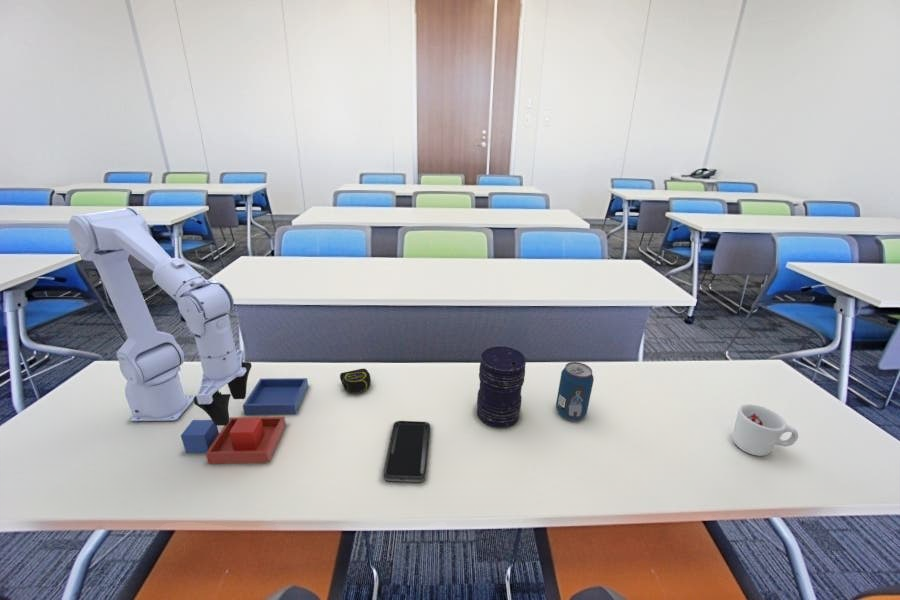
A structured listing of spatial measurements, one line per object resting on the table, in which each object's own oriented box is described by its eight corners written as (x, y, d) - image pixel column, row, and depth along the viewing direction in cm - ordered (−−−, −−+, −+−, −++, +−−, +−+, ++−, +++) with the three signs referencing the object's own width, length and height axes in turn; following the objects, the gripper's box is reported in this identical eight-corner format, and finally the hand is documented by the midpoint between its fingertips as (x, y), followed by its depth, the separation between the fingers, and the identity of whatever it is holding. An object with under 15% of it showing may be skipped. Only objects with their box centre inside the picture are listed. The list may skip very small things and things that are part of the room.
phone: (430, 422, 86) (424, 478, 72) (430, 426, 86) (424, 482, 72) (393, 420, 86) (381, 476, 72) (394, 424, 86) (381, 480, 72)
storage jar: (467, 411, 91) (470, 355, 85) (496, 395, 97) (501, 341, 91) (499, 435, 84) (505, 376, 78) (528, 416, 90) (536, 360, 84)
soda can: (571, 400, 96) (579, 357, 91) (592, 418, 90) (602, 373, 86) (548, 407, 93) (555, 364, 88) (568, 426, 88) (577, 381, 83)
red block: (233, 450, 78) (229, 432, 76) (242, 434, 82) (238, 417, 80) (256, 449, 78) (252, 432, 76) (264, 433, 82) (261, 416, 80)
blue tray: (244, 414, 88) (242, 405, 87) (261, 387, 97) (260, 378, 96) (296, 414, 89) (294, 404, 88) (308, 386, 98) (307, 378, 97)
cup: (780, 442, 85) (794, 412, 82) (796, 469, 78) (812, 438, 75) (722, 429, 88) (734, 400, 85) (733, 454, 81) (746, 423, 78)
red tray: (208, 464, 75) (205, 453, 74) (232, 426, 84) (229, 417, 83) (268, 462, 76) (266, 452, 75) (286, 425, 85) (284, 416, 84)
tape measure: (367, 377, 102) (366, 365, 101) (373, 392, 97) (373, 379, 95) (340, 383, 100) (339, 370, 98) (345, 398, 94) (344, 385, 92)
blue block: (185, 453, 77) (180, 435, 76) (197, 436, 81) (192, 419, 80) (209, 452, 78) (204, 435, 76) (219, 436, 82) (215, 419, 80)
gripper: (221, 372, 65) (236, 437, 70) (255, 330, 78) (266, 387, 84) (176, 373, 64) (195, 437, 70) (218, 330, 78) (231, 388, 83)
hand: (231, 410), depth 77 cm, fingers open, 7 cm apart
